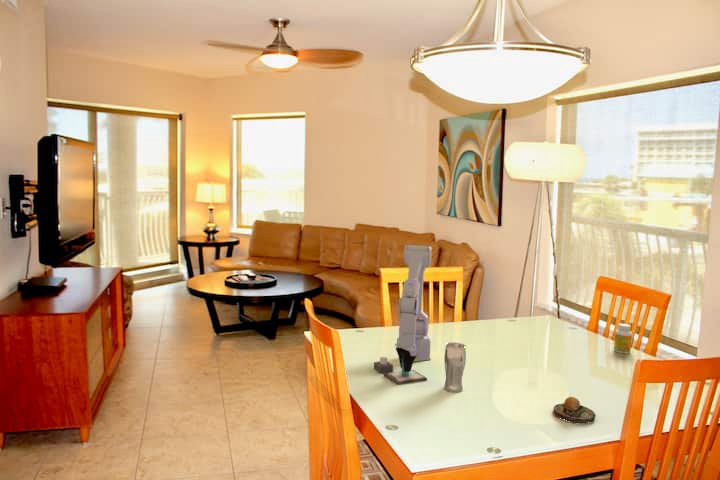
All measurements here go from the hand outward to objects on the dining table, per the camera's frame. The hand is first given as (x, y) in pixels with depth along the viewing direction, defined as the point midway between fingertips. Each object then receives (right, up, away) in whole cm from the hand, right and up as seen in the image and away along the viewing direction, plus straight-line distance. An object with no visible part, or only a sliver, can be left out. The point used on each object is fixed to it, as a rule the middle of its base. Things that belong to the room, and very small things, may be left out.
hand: (405, 369), depth 202 cm
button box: (-7, -2, +7) cm, 11 cm away
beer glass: (+15, -5, -8) cm, 18 cm away
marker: (0, -2, 0) cm, 2 cm away
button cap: (-7, -1, +7) cm, 10 cm away
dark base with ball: (+49, -8, -26) cm, 56 cm away
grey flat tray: (0, -3, 0) cm, 3 cm away
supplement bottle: (+93, -2, +41) cm, 102 cm away
